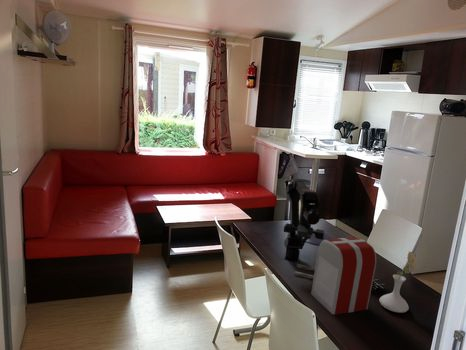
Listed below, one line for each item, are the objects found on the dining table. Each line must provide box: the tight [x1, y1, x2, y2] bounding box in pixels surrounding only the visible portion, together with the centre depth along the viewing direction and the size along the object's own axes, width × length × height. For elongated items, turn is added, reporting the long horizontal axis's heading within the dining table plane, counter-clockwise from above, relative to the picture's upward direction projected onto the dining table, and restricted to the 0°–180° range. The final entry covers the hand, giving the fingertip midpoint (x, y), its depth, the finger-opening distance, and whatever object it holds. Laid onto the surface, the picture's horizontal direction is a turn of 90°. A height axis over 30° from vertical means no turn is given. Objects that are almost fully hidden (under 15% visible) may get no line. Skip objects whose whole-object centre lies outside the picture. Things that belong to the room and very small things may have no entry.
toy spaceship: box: [303, 228, 337, 247], centre depth 225 cm, size 28×24×3 cm
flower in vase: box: [379, 250, 419, 314], centre depth 152 cm, size 13×11×25 cm
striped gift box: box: [310, 237, 377, 315], centre depth 153 cm, size 17×18×27 cm
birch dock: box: [293, 263, 315, 280], centre depth 175 cm, size 23×12×5 cm, turn 72°
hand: (301, 247), depth 177 cm, fingers closed
